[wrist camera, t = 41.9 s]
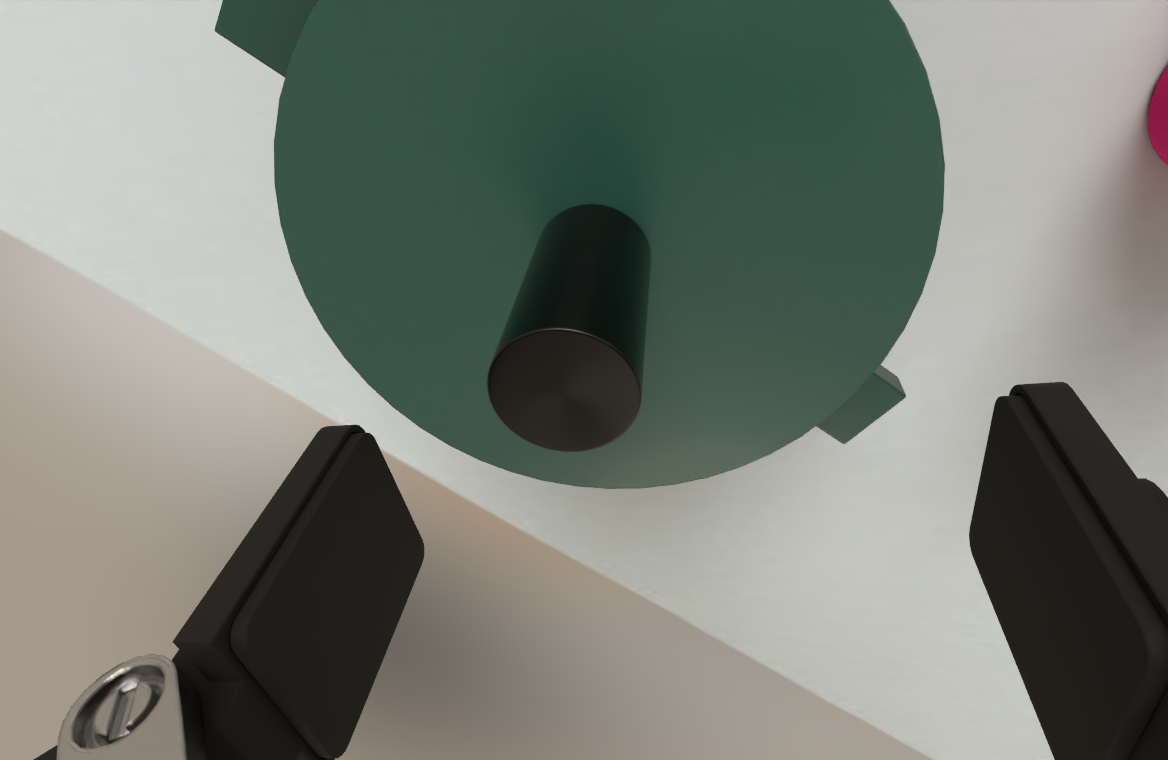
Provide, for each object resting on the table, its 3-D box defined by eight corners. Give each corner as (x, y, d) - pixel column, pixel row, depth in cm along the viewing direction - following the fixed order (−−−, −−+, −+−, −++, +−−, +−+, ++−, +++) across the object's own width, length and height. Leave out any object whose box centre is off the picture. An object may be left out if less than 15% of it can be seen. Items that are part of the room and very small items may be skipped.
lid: (475, -386, 11) (290, -632, 6) (1084, 170, 15) (1306, 327, 10) (222, 289, 20) (53, 441, 14) (656, 531, 24) (649, 720, 18)
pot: (488, -306, 19) (330, -463, 10) (967, 118, 24) (1131, 251, 16) (314, 124, 27) (141, 241, 18) (704, 376, 32) (714, 561, 24)
